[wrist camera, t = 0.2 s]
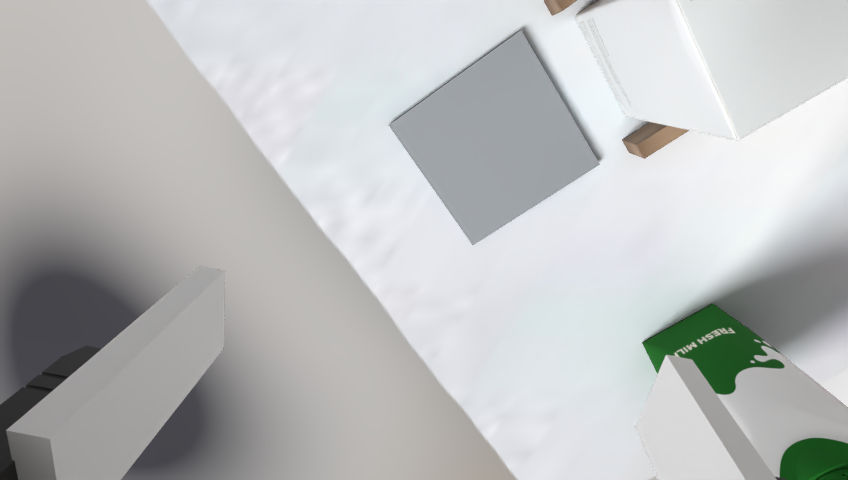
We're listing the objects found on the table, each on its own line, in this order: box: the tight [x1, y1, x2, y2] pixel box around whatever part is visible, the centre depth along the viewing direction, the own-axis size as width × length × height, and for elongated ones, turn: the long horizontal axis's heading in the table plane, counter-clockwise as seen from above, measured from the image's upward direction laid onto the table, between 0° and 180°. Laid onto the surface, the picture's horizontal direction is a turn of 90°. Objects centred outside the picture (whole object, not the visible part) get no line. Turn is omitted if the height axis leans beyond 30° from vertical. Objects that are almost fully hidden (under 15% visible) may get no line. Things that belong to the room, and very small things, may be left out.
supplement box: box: [575, 0, 848, 141], centre depth 30 cm, size 9×9×15 cm
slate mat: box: [389, 30, 600, 245], centre depth 39 cm, size 12×12×1 cm
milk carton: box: [643, 304, 848, 480], centre depth 36 cm, size 9×9×20 cm
